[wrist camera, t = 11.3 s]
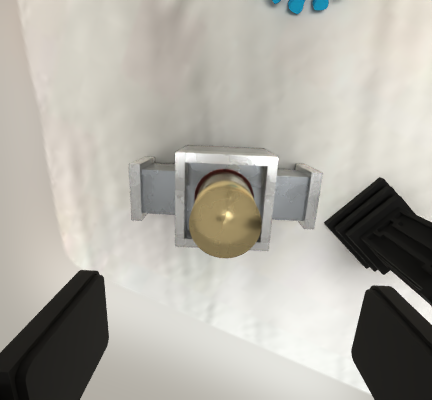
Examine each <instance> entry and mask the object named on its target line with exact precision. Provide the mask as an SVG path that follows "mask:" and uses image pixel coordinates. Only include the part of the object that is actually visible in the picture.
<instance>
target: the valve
mask: <svg viewBox="0 0 432 400" xmlns="http://www.w3.org/2000/svg"><path fill="white" fill-rule="evenodd" d="M278 159H279V157H278V156H276V155H274V154H273V153H271V152H269V151H267V150H266V149H264V148H242V147H221V146H199V145H186V146H185V147H183V148H181V149H180V150H178V151H177V152H175V164H162V163H154V157H143V158H141V159H139V160H136V161H134V162H132V163H129V178H130V199H131V220H136V221H142V220H143V218H144V217H145V216H146V215H147V214H148V213H152V214H172V215H175V246H177V247H198V246H197V245H196V244H195V242H194V241H193V239H192V237H191V234H190V230H189V218H190V214H191V211H192V208H193V206H194V203H195V200H196V197H197V194H198V191H199V188H200V186H201V184H202V183H203V181H204V180H205V179H206V178H208V177H209V176H211V175H212V174H215V173H218V172H231V173H234V174H236V175H238V176H240V177H241V178H242V179H243V180H244V181H245V182H246V183H247V185H248V187H249V189H250V191H251V194H252V196H253V198H254V201H255V203H256V205H257V208H258V210H259V212H260V215H261V220H262V228H261V233H260V236H259V238H258V240H257V242H256V243H255V244H254V246H253V247H252V248H251V249H250V250H258V251H268V250H269V241H270V232H271V223H272V219H275V220H296V221H298V222H299V223H300V225H301V226H302V227H303V228H304V229H314V226H315V220H316V213H317V207H318V201H319V194H320V188H321V182H322V175H323V173H322V172H320V171H318V170H316V169H314V168H312V167H310V166H308V165H305V164H296V166H295V170H290V169H277V168H278ZM198 248H199V247H198Z"/></svg>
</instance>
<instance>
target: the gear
mask: <svg viewBox="0 0 432 400" xmlns="http://www.w3.org/2000/svg"><path fill="white" fill-rule="evenodd" d="M272 1H273V3H274V4H276V3H278V2H280V1H281V0H272ZM304 2H305V0H289V2H288V6H289V9H290V10H291V11H292V12H294V13H296V14H299V13H300V12H301V11H302V9H303V5H304ZM328 4H329V1H328V0H313V7H314V10H324V9H326V8H327V7H328Z"/></svg>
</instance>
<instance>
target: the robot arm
mask: <svg viewBox="0 0 432 400" xmlns="http://www.w3.org/2000/svg"><path fill="white" fill-rule="evenodd" d="M108 340H109V333H108V321H107V310H106V298H105V285H104V277H103V276H102V275H99V272H98V271H89V270H80V271H79V272H78V273H77V274H76V275H75V276H74V277H73V278H72V279H71V280H70V281H69V282H68V283H67V284H66V285H65V286H64V287H63V288H62V289H61V290H60V291H59V292H58V293H57V294H56V295H55V297H54V298H53V299H52V300H51V301H50V302H49V303H48V304H47V305H46V306H45V307H44V308H43V309H42V310H41V311H40V312H39V313H38V314H37V315H36V316H35V317H34V318H33V319H32V320H31V322H29V323H28V325H27V326H26V327H25V328H24V329H23V330H22V331H21V332H20V333H19V334H18V335H17V336H16V337H15V338H14V339H13V340H12V341H11V342H10V343H9V344H8V345H7V346H6V347H5V348H4V349H3V350H2V352H1V353H0V400H80V398H81V396H82V394H83V392H84V390H85V388H86V386H87V384H88V382H89V381H90V379H91V377H92V375H93V373H94V371H95V369H96V367H97V365H98V363H99V361H100V359H101V357H102V355H103V353H104V351H105V349H106V347H107V344H108ZM351 352H352V358H353V361H354V363H355V365H356V367H357V369H358V370H359V372H360V374H361V376H362V378H363V379H364V381H365V383H366V385H367V387H368V388H369V390H370V392H371V394H372V396H373V398H374V399H375V400H432V325H431V324H430V323H429V322H428V321H427V320H426V319H425V318H424V317H423V316H422V315H421V314H420V313H419V312H417V311H416V310H415V309H414V308H413V307H412V306H411V305H410V304H409V303H408V302H407V301H406V300H405V299H404V298H403V297H402V296H401V295H400V294H399V293H398V292H397V291H396V290H395V289H394V288H392V287H390V286H375V285H374V286H371V288H370V289H368V290H366V292H365V295H364V300H363V304H362V308H361V312H360V316H359V321H358V325H357V329H356V333H355V337H354V342H353V346H352V351H351Z"/></svg>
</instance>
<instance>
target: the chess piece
mask: <svg viewBox="0 0 432 400" xmlns="http://www.w3.org/2000/svg"><path fill="white" fill-rule="evenodd" d="M324 223H325V225H326V226H327V227H328V228H329V229H330V230H331V231H332V232H333V233H334V234H335V235H336V236H337V238H338V239H339V240H340V241H341V242H342V243H343V244H344V245H345V246H346V247H347V248H348V249H349V251H350V252H351V253H352V254H353V255H354V256H355V257H356V258H357V259H358V260H359V261H360V262H361V264H362V265H363V266H364V267H365V268H366V269H367V268H369V267H370V268H371V269H372V270H373V271H374V272H375V271H377V270H379V271H380V272H381V273H382V274H383V275H384V274H386V273H387V272H389V271H390V270H391V271H392V272H393V273H394V274H396V275H397V276H398V277H399V278H400V279H401V280H402V281H404V282H405V283H406V284H407V285H408V286H409V287H411V288H412V289H413V290H414V291H415V292H416V293H418V294H419V295H420V296H421V297H422V298H423V299H424V300H426V301H427V302H428V303H429V304H430V305H431V306H432V222H430V221H428V220H425V219H423V218H421V217H419V216H417V215H416V214H415V213H414V212H413V211H412V210H411V208H410V207H409V206H408V205H407V203H406V202H405V201H404V200H403V199H402V197H401V196H399V195H398V194H397V193H396V192H395V190H394V189H393V188H392V187H390V186H389V184H388V183H387V182H386V181H385V180H384V179H383V178H378V179H377V180H376V181H375V182H373V183H372V184H371V185H370V186H369V187H367V188H366V189H365V190H364V191H362V192H361V193H360V194H359V195H357V196H356V197H355V198H354V199H353V200H351V201H350V202H349V203H348V204H346V205H345V206H344V207H343V208H341V209H340V210H339V211H338V212H337V213H335V214H334V215H333V216H332V217H330V218H329V219H328V220H327V221H325V222H324Z"/></svg>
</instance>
